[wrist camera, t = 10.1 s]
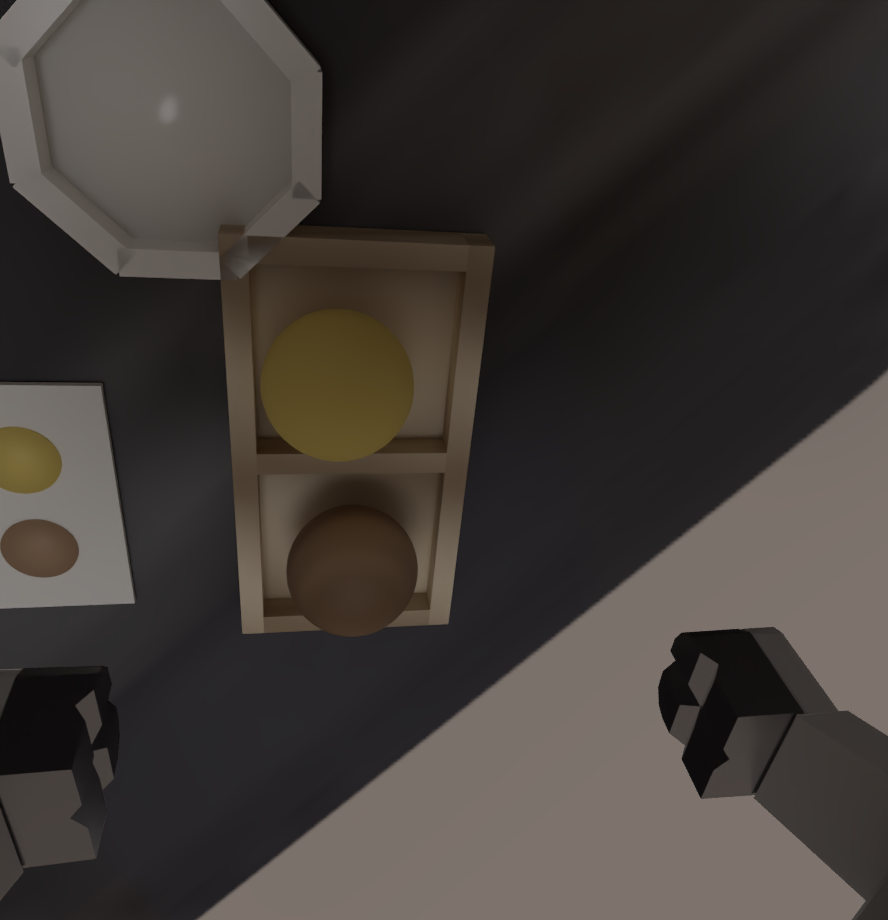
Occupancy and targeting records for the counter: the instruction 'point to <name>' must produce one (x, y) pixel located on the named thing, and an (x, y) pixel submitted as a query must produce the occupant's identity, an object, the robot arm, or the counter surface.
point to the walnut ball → (352, 570)
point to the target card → (59, 499)
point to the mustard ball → (337, 385)
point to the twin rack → (413, 448)
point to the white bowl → (161, 127)
